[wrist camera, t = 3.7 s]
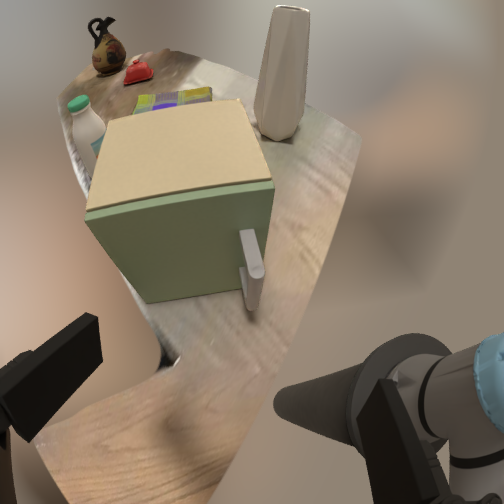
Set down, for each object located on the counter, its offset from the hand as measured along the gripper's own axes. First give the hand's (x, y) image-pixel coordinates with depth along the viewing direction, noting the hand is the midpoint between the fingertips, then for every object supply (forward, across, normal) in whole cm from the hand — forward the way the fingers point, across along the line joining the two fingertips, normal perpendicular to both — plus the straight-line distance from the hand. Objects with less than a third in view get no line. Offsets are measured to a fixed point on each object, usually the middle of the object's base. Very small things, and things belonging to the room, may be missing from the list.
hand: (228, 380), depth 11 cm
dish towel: (+66, -34, +27) cm, 79 cm away
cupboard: (+35, -12, -4) cm, 37 cm away
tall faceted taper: (+60, -4, +21) cm, 64 cm away
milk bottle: (+46, -40, +6) cm, 61 cm away
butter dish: (+82, -60, +43) cm, 110 cm away
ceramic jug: (+90, -82, +50) cm, 132 cm away
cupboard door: (+27, -7, -12) cm, 30 cm away
